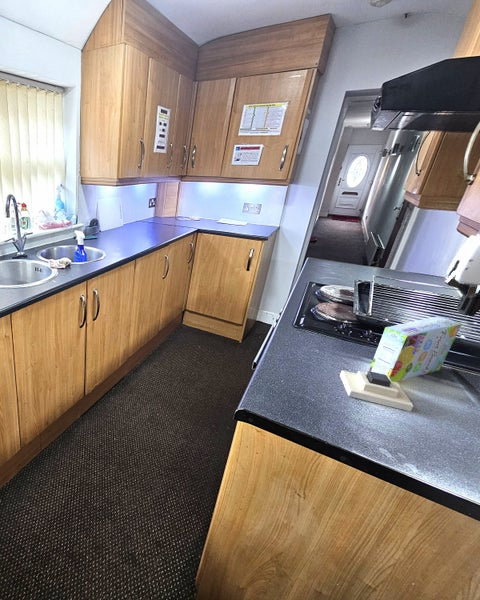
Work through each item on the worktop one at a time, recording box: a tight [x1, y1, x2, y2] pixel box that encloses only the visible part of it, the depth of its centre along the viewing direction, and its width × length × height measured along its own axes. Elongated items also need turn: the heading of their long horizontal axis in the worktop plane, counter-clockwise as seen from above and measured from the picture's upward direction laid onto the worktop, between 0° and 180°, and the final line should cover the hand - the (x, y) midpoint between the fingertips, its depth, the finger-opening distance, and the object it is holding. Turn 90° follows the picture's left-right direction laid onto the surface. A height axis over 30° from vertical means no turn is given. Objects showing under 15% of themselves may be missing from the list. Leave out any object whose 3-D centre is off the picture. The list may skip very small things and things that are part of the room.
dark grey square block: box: [366, 370, 391, 387], centre depth 82 cm, size 4×4×2 cm
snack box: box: [368, 315, 463, 383], centre depth 88 cm, size 21×6×15 cm, turn 107°
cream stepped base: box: [339, 369, 414, 412], centre depth 83 cm, size 12×10×4 cm
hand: (465, 313), depth 74 cm, fingers closed
